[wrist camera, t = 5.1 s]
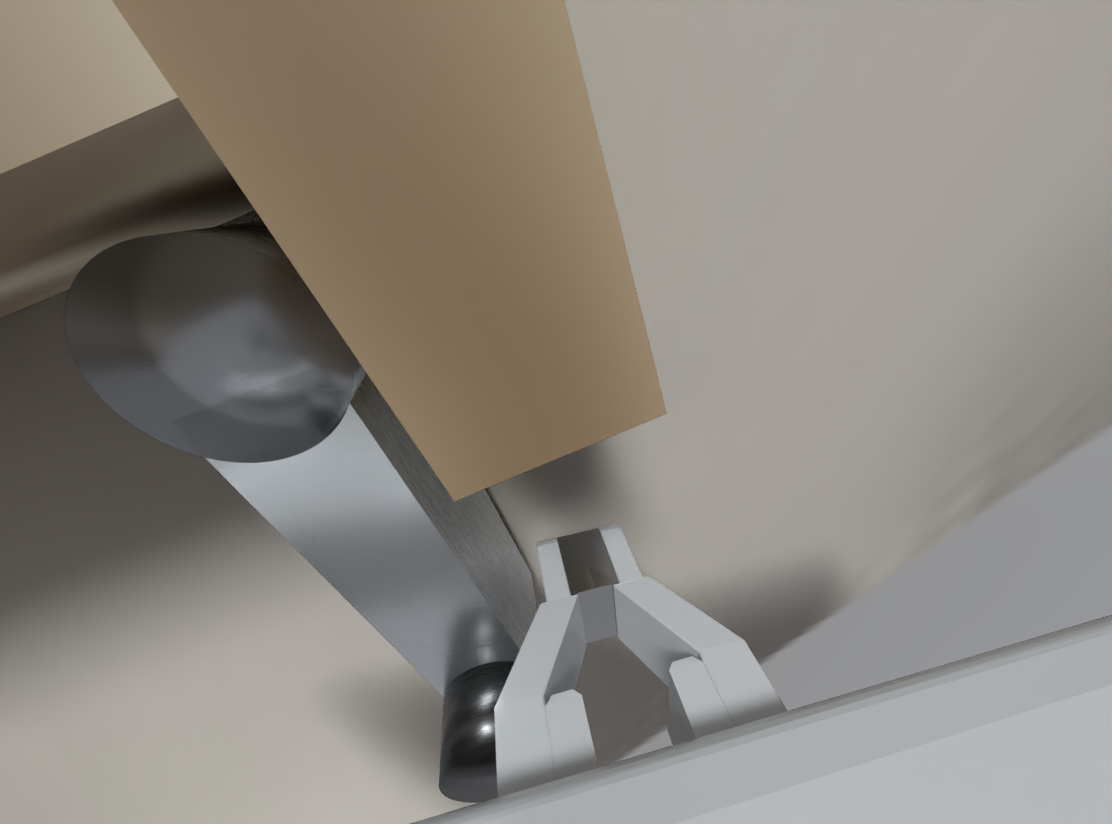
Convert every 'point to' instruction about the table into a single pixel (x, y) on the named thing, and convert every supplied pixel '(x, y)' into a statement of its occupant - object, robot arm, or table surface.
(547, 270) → the wooden l-bracket
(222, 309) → the crank handle
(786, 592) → the table surface
